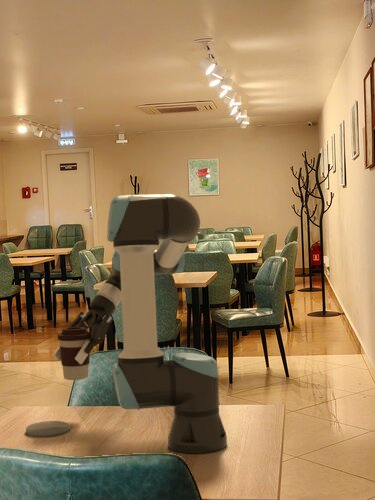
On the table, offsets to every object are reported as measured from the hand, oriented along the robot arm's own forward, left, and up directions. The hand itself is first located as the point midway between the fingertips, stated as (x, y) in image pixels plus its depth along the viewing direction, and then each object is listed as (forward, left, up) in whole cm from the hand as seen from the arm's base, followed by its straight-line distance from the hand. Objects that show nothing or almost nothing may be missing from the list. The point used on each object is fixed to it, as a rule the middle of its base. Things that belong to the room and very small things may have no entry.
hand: (67, 359), depth 217 cm
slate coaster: (-10, +9, -17) cm, 22 cm away
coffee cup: (+1, -3, -6) cm, 7 cm away
